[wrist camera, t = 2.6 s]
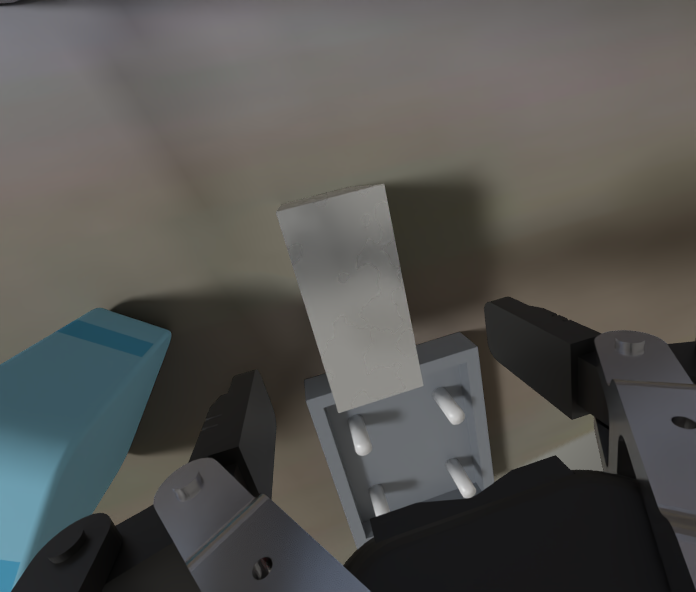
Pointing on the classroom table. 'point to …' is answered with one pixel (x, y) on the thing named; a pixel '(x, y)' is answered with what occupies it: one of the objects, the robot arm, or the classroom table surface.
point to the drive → (353, 292)
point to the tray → (408, 437)
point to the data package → (69, 426)
